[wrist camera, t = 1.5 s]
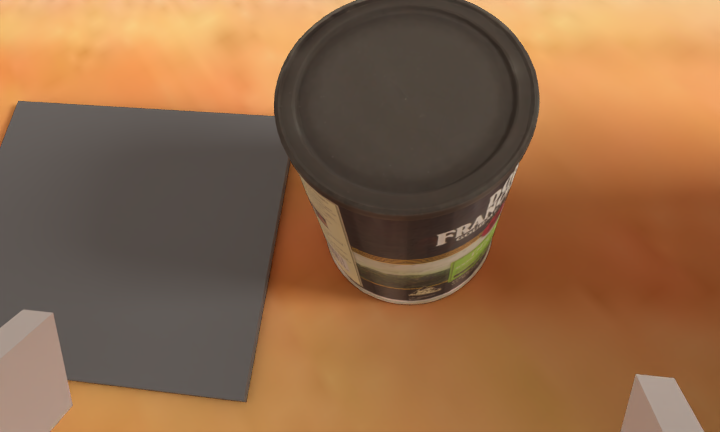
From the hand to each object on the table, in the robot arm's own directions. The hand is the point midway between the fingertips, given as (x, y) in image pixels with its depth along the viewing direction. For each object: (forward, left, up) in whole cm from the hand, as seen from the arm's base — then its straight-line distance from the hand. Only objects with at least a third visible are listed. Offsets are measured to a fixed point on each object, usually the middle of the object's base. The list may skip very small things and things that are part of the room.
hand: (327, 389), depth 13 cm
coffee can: (-1, -12, -20) cm, 23 cm away
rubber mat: (+17, -9, -20) cm, 28 cm away
